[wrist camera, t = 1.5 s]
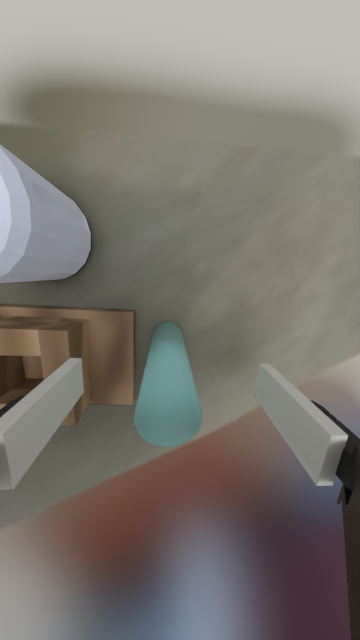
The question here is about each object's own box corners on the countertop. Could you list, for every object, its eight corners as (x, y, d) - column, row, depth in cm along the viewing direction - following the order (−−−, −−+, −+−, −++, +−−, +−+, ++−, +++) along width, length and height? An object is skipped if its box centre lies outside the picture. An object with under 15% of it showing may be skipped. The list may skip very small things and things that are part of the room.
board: (-28, 397, 24) (-87, 434, 18) (-49, 302, 21) (-126, 312, 16) (134, 398, 25) (125, 433, 20) (134, 310, 23) (124, 322, 17)
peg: (152, 348, 24) (133, 447, 10) (153, 320, 23) (133, 388, 10) (181, 349, 24) (199, 446, 11) (182, 322, 23) (204, 389, 10)
